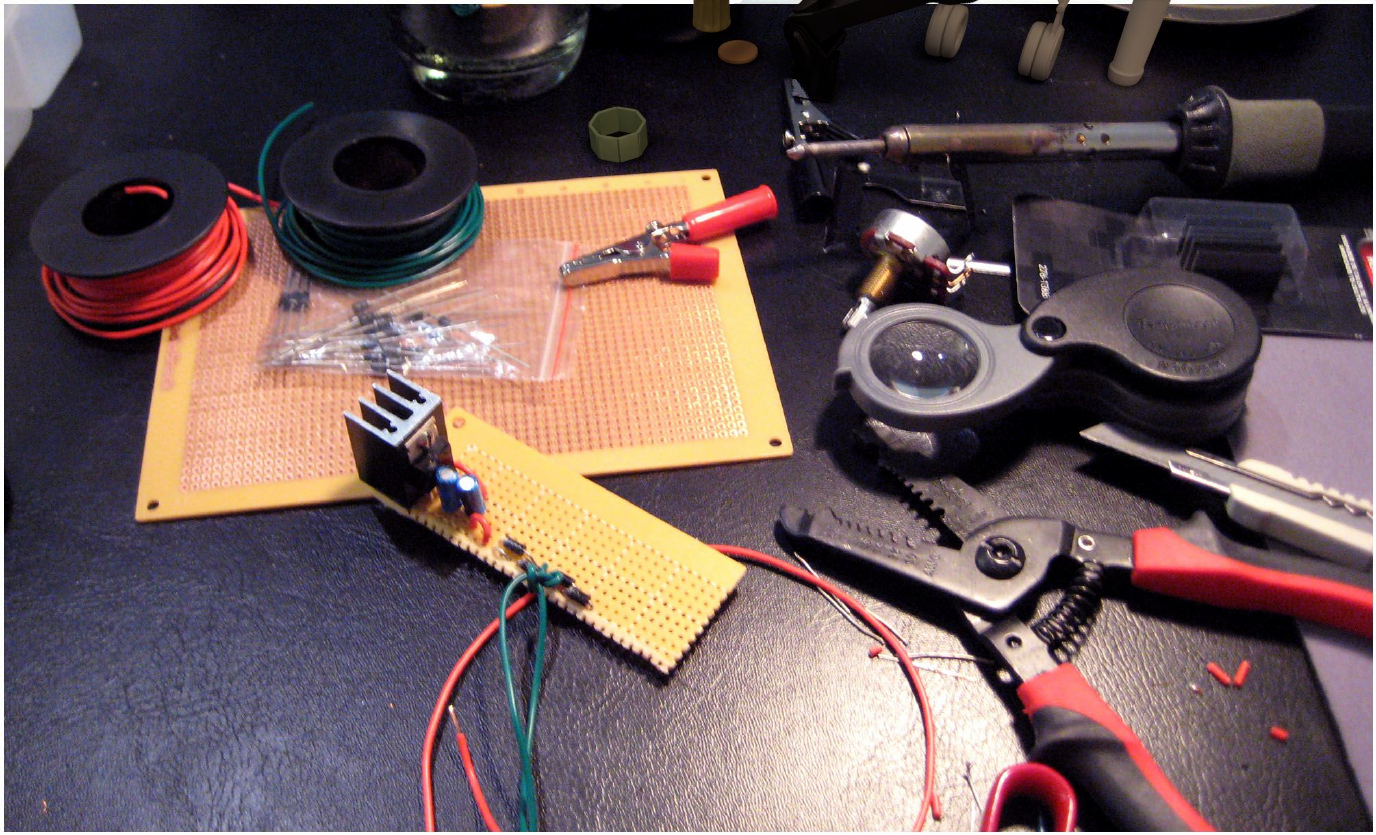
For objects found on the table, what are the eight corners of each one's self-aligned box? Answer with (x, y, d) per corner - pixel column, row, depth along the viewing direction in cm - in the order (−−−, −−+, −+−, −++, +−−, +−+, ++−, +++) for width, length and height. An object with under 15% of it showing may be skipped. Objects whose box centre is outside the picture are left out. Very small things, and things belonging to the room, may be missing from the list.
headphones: (919, 63, 151) (941, -58, 136) (935, 39, 156) (958, -81, 141) (1042, 92, 145) (1079, -32, 130) (1055, 66, 150) (1092, -57, 135)
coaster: (762, 46, 156) (762, 43, 155) (751, 66, 152) (751, 63, 152) (724, 41, 157) (724, 37, 157) (713, 61, 154) (713, 57, 153)
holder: (653, 135, 141) (652, 112, 138) (634, 165, 136) (632, 142, 133) (604, 126, 142) (602, 103, 139) (584, 156, 138) (581, 133, 135)
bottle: (1136, 69, 148) (1199, -96, 129) (1143, 87, 145) (1208, -80, 126) (1103, 68, 149) (1160, -96, 129) (1109, 86, 146) (1168, -80, 126)
